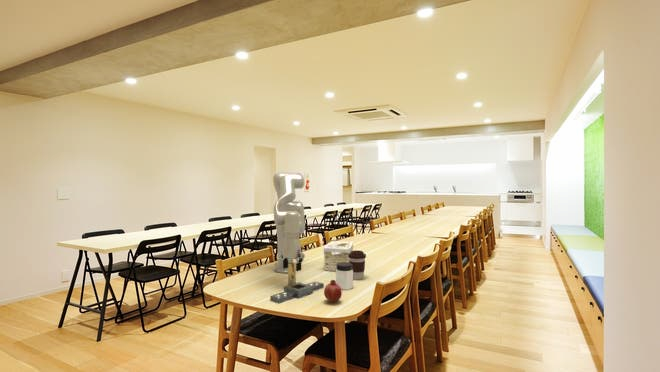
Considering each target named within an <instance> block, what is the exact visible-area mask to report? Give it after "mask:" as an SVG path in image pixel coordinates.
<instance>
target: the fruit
mask: <svg viewBox="0 0 660 372" xmlns="http://www.w3.org/2000/svg"><path fill="white" fill-rule="evenodd" d="M323 294H324V297H325V299H326V300H327V301H329V302H332V303H336V302H337V301H339V300H340V299H341V297H342V294H343V293H342V290H341V288H340V286H339V285H337V284H336V279H335V280H334V279H331V280H330V282H329V283H328V284H326V285H325V286H324V290H323Z"/></svg>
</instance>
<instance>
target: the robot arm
mask: <svg viewBox="0 0 660 372" xmlns="http://www.w3.org/2000/svg"><path fill="white" fill-rule="evenodd" d="M272 180H273V182H272V183H273V186H274V189H275V192H276V195H277V199H276V201H275V203H274V205H273V220H274V221H273V222H274V223H275V228H276V229H275V230H276V238H277V261H276V262H275V263H274V266H276V267H275V269H274V272H276V273H280V274H288V263H290V262H294V260H295V261H296V262H295V263H296V272H299V271H302V263H303V261H304V259H305V257H306V255H305V254H304V253H303V252H302V244H301V240H300V235H302V234H304V233H305V230H306V223H305V222H306V221H305V207H304V204H303V202H302V201H300V200H299V201H297V200H296V201H294V200H295V199H296V198H297V197H296V189H297V190H298V189H299V190H300V189H304V186H305V178H304V176H303V174H302V173H300V172H278V173H274V174H273V177H272Z"/></svg>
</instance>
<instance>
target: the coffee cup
mask: <svg viewBox="0 0 660 372" xmlns="http://www.w3.org/2000/svg"><path fill="white" fill-rule="evenodd" d="M348 257H349V259H350V260H349V263H351V264H352V270H353V280H356V281H359V280H363V279H364V277H365V268H366V267H365V266H366V260H365V259H366V258H367V254H366V253H364V251H362V250H353V251H351V253H350V254H348Z"/></svg>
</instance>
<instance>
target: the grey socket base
mask: <svg viewBox="0 0 660 372" xmlns="http://www.w3.org/2000/svg"><path fill="white" fill-rule="evenodd" d="M323 288H324V289H325V284H324V283H323V282H319V281H312V282H310V283H303V282H299V281H298V282H296V283H295V284H292V285H289V286H288V285H286V286H283V291H280V292H277V293H276V294H273V295H270V298H269V299H270V300H269V301H271V302H274V303H277V304H281V303H284V302H287V301H290V300H292V299H295V298H296V299H301V298H303V297H307V296H308V295H311V294H314V292H315V291H317V290H320V289H323Z"/></svg>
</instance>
